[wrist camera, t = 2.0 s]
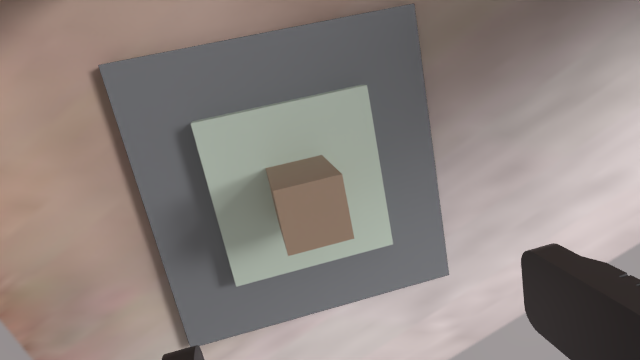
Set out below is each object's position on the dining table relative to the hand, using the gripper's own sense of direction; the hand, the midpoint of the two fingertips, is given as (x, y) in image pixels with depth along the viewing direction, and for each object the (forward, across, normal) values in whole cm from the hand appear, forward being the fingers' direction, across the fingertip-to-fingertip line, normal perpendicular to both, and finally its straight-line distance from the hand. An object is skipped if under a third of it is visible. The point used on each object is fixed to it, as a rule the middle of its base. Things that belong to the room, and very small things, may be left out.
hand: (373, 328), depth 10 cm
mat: (+15, 0, 0) cm, 15 cm away
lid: (+14, 0, 0) cm, 14 cm away
